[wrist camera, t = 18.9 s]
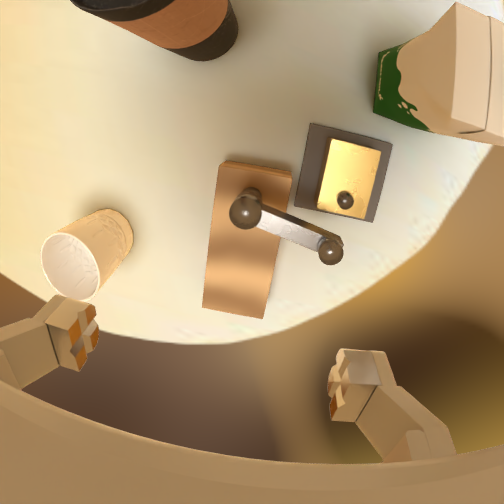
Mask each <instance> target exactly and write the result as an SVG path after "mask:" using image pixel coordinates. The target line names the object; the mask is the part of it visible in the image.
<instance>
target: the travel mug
mask: <svg viewBox="0 0 504 504" xmlns="http://www.w3.org/2000/svg"><path fill="white" fill-rule="evenodd" d="M70 1H71V2H72V3H73V4H74V5H75V6H77V7H78V8H80V9H82V10H84V11H86V12H88V13H91V14H93V15H95V16H98V17H100V18H102V19H104V20H107V21H109V22H111V23H113V24H115V25H117V26H119V27H122V28H124V29H126V30H128V31H130V32H132V33H134V34H136V35H138V36H140V37H142V38H144V39H146V40H148V41H150V42H152V43H153V44H155V45H158V46H160V47H162V48H165V49H167V50H169V51H172V52H174V53H176V54H179V55H181V56H183V57H186V58H188V59H191V60H195V61H208V60H212V59H215V58H217V57H220V56H221V55H223V54H224V53H226V52H227V51H228V50H229V49H230V48H231V47H232V45H233V44H234V42H235V40H236V37H237V34H238V24H237V20H236V17H235V14H234V12H233V9H232V6H231V4H230V1H229V0H70Z"/></svg>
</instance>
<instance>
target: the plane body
mask: <svg viewBox="0 0 504 504" xmlns="http://www.w3.org/2000/svg"><path fill="white" fill-rule="evenodd" d="M291 184H292V173H291V172H289V171H284V170H279V169H274V168H268V167H263V166H257V165H251V164H245V163H239V162H233V161H227V160H226V161H225V162H223V163H222V164H221V165H220V166H219V170H218V177H217V184H216V191H215V199H214V207H213V214H212V222H211V230H210V239H209V247H208V256H207V265H206V274H205V283H204V293H203V302H202V308H207V309H212V310H217V311H222V312H227V313H232V314H238V315H243V316H249V317H254V318H260V319H263V316H264V311H265V307H266V302H267V298H268V293H269V289H270V284H271V280H272V275H273V270H274V266H275V261H276V256H277V252H278V247H279V242H280V238H281V237H280V236H277V235H275V234H272V233H270V232H267V231H265V230H262V229H260V228H258V227H254V228H252V229H248V230H244V229H240V228H237V227H236V226H235V225H234V224H233V223H232V222H231V220H230V218H229V209H230V207H231V205H232V203H233V201H234V200H235V198H236V196H237V195H238V194H240V193H241V192H244V191H252V192H255V193H256V194H258V195H259V196H260V197H261V199H262V201H263V204H265V205H268V206H270V207H273V208H275V209H278V210H280V211H282V212H285V213H286V209H287V204H288V199H289V194H290V189H291Z"/></svg>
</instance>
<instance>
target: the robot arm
mask: <svg viewBox="0 0 504 504" xmlns="http://www.w3.org/2000/svg"><path fill="white" fill-rule="evenodd" d="M95 316H96V310H95V306H93V305H92V304H89V303H86V302H82V301H79V300H76V299H72V298H68V297H65V296H62V295H55V296H54V297H53V298H52V299H51V300H50V301H49V302H48V303H47V304H46V305H45V306H44V307H43V308H42V309H41V310H40V311H39V312H38V313H37V314H36V315H35V316H34V317H33V318H32V319H31V318H27V319H24V320H22V321H18V322H16V323H13V324H10V325H7V326H4V327H2V328H0V504H504V445H500V446H496V447H492V448H487V449H483V450H479V451H474V452H469V453H464V454H458V455H457V454H456V451H455V448H454V445H453V442H452V439H451V436H450V433H449V430H448V428H447V426H445V424H443V423H442V422H441V421H440V420H439V419H438V418H436V417H435V416H434V415H433V414H432V413H431V412H430V411H428V410H427V409H426V408H425V407H424V406H423V405H421V404H420V403H419V402H418V401H417V400H416V399H415V398H414V397H412V396H411V395H410V394H409V393H408V392H407V391H406V390H404V389H403V388H402V387H401V386H397V385H396V382H395V379H394V376H393V373H392V371H391V368H390V365H389V362H388V359H387V356H386V354H385V352H383V351H363V350H352V349H340V350H339V352H338V354H337V356H336V361H337V364H336V365H335V366H333V367H332V369H331V371H330V374H329V379H328V395H329V396H330V397H331V398H332V400H331V402H330V404H329V406H330V414H331V420H333V421H348V422H356V424H357V426H358V427H359V428H360V430H361V431H362V432H363V434H364V435H365V436H366V437H367V439H368V440H369V441H370V443H371V444H372V445H373V447H374V448H375V449H376V451H377V452H378V453H379V455H380V456H381V457H382V458H383V461H382V462H381V463H375V464H309V463H292V462H279V461H268V460H258V459H250V458H243V457H235V456H228V455H222V454H217V453H211V452H205V451H200V450H195V449H190V448H186V447H181V446H176V445H172V444H168V443H164V442H160V441H156V440H152V439H149V438H145V437H141V436H138V435H134V434H131V433H128V432H124V431H121V430H118V429H115V428H112V427H109V426H106V425H103V424H100V423H97V422H94V421H92V420H89V419H86V418H83V417H80V416H78V415H75V414H73V413H70V412H68V411H65V410H63V409H61V408H58V407H56V406H53V405H51V404H49V403H47V402H44V401H42V400H40V399H38V398H35V397H33V396H31V395H29V394H27V393H25V392H23V391H21V389H22V388H23V387H25V386H27V385H29V384H30V383H32V382H34V381H35V380H37V379H39V378H40V377H42V376H44V375H45V374H47V373H49V372H50V371H52V370H54V369H55V368H57V367H59V365H60V366H63V367H66V368H69V369H73V370H75V371H80V370H81V368H82V367H83V365H84V363H85V362H86V360H87V353H89V352H91V351H93V350H94V348H95V347H96V345H97V341H98V338H99V327H98V324H97V323H96V322H95V320H94V317H95Z"/></svg>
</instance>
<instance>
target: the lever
mask: <svg viewBox="0 0 504 504" xmlns="http://www.w3.org/2000/svg"><path fill="white" fill-rule="evenodd" d="M229 218H230V220H231V222H232V223H233V224H234V225H235V226H236V227H237V228H240V229H244V230H248V229H252V228H254V227H258V228H260V229H262V230H265V231H267V232H270V233H272V234H275V235H277V236H280V237H282V238H284V239H287V240H289V241H292V242H294V243H297V244H299V245H301V246H304V247H306V248H309V249H311V250H313V251H316V252H318V254H319V258H320V260H321V261H322V262H323V263H324V264H327V265H335V264H337V263H338V262H340V261H341V259H342V258H343V249H342V247H343V246H344V244H343V242H342V240H341V238H340V236H338V235H336V234H333V233H331V232H329V231H327V230H324V229H322V228H320V227H317V226H315V225H313V224H311V223H308V222H306V221H304V220H301V219H299V218H297V217H294V216H292V215H289V214H287V213H285V212H282V211H280V210H278V209H275V208H273V207H270V206H268V205H265V204H263V201H262V199H261V197H260V196H259V195H258V194H256V193H255V192H252V191H244V192H241V193H240V194H238V195H237V196H236V198H235V200H234V201H233V203H232V205H231V207H230V209H229Z"/></svg>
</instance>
